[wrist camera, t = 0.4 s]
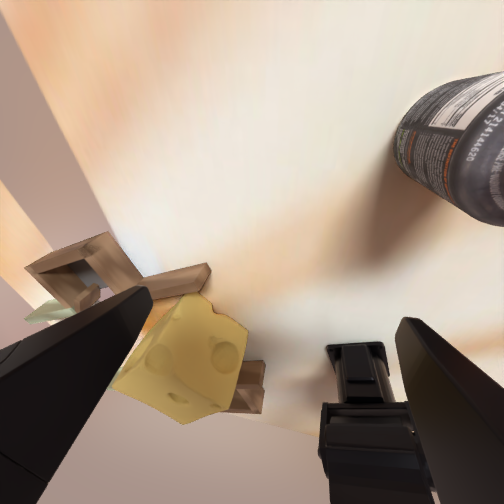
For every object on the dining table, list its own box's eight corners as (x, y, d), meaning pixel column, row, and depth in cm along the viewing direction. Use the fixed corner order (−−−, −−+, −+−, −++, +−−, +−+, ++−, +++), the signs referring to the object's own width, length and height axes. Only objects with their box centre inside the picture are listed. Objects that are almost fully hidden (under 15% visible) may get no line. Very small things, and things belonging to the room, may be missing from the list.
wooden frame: (280, 390, 37) (277, 417, 34) (142, 390, 48) (130, 409, 45) (174, 206, 22) (152, 222, 19) (12, 266, 34) (-18, 283, 31)
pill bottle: (465, 183, 16) (671, 282, 7) (379, 175, 17) (462, 253, 8) (522, 80, 13) (1042, 16, 4) (413, 77, 14) (620, 17, 5)
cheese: (191, 284, 28) (142, 357, 20) (254, 332, 31) (235, 415, 22) (156, 318, 34) (106, 387, 25) (212, 356, 36) (184, 431, 28)
